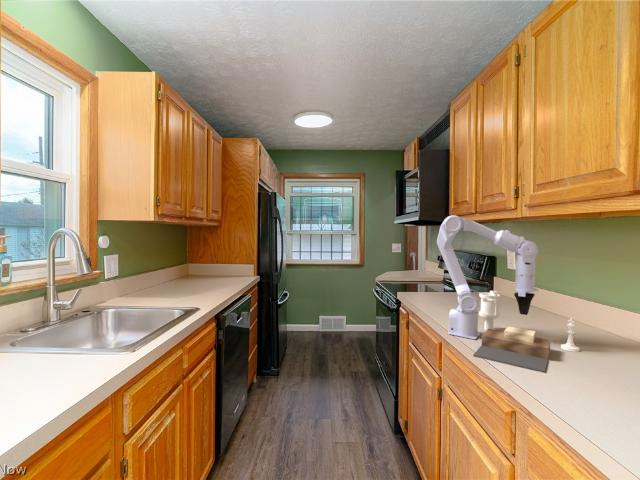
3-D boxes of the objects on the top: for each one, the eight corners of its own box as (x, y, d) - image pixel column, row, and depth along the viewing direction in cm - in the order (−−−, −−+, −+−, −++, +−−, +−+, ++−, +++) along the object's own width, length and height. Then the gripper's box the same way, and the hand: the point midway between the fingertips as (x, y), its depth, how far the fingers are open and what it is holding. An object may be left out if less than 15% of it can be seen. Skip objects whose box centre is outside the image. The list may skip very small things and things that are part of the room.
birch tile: (504, 337, 106) (504, 330, 106) (507, 332, 111) (507, 326, 111) (533, 342, 101) (533, 335, 101) (535, 337, 106) (535, 331, 106)
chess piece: (577, 353, 103) (578, 321, 102) (558, 348, 107) (559, 318, 106) (581, 349, 106) (582, 319, 106) (563, 345, 110) (564, 315, 109)
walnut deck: (481, 346, 108) (481, 335, 108) (488, 338, 116) (488, 328, 116) (547, 360, 97) (548, 348, 97) (550, 350, 105) (550, 339, 104)
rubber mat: (473, 356, 99) (473, 354, 99) (481, 346, 108) (481, 345, 108) (544, 372, 88) (544, 371, 88) (547, 360, 96) (547, 359, 96)
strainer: (503, 331, 124) (504, 292, 123) (489, 333, 121) (490, 293, 121) (487, 326, 130) (488, 289, 130) (474, 328, 128) (475, 290, 127)
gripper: (536, 278, 105) (535, 320, 105) (540, 274, 116) (539, 311, 116) (511, 276, 109) (510, 316, 109) (517, 272, 120) (516, 308, 121)
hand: (523, 314), depth 113 cm, fingers closed
